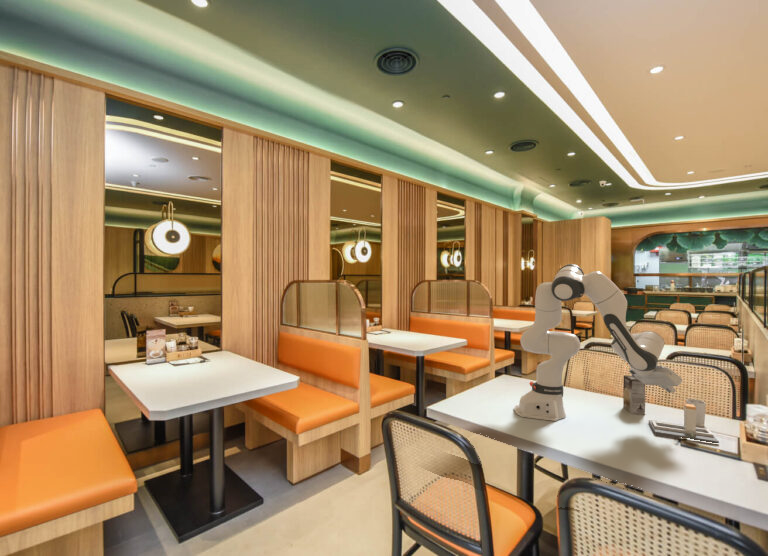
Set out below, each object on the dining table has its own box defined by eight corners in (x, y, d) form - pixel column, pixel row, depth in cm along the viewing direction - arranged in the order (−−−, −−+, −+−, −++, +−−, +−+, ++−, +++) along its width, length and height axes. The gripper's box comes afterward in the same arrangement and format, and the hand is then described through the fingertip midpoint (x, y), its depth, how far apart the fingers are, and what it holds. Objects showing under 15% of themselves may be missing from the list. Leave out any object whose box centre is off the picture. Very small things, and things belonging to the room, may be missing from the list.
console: (655, 435, 152) (655, 429, 152) (648, 423, 164) (648, 417, 164) (718, 445, 143) (718, 438, 143) (706, 432, 155) (706, 426, 155)
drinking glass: (689, 425, 162) (689, 402, 162) (683, 420, 169) (683, 398, 169) (708, 427, 160) (708, 404, 160) (701, 422, 166) (701, 399, 166)
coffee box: (622, 407, 185) (622, 374, 185) (636, 408, 184) (637, 375, 184) (630, 413, 176) (631, 379, 176) (646, 414, 175) (646, 380, 175)
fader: (686, 431, 152) (686, 406, 152) (684, 428, 155) (684, 403, 155) (695, 433, 150) (695, 407, 150) (693, 430, 153) (693, 404, 153)
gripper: (668, 360, 148) (697, 387, 145) (634, 361, 168) (659, 385, 165) (658, 371, 147) (687, 398, 144) (625, 371, 167) (650, 395, 164)
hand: (672, 391), depth 155 cm, fingers closed
